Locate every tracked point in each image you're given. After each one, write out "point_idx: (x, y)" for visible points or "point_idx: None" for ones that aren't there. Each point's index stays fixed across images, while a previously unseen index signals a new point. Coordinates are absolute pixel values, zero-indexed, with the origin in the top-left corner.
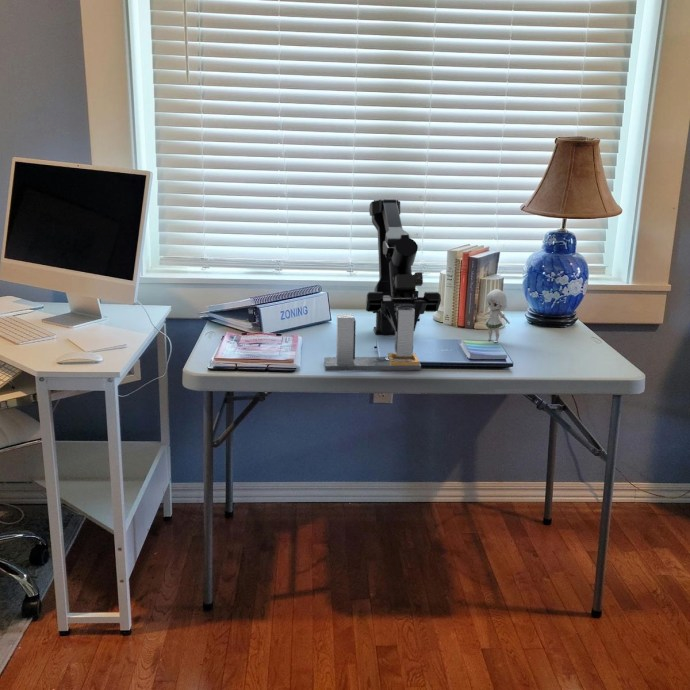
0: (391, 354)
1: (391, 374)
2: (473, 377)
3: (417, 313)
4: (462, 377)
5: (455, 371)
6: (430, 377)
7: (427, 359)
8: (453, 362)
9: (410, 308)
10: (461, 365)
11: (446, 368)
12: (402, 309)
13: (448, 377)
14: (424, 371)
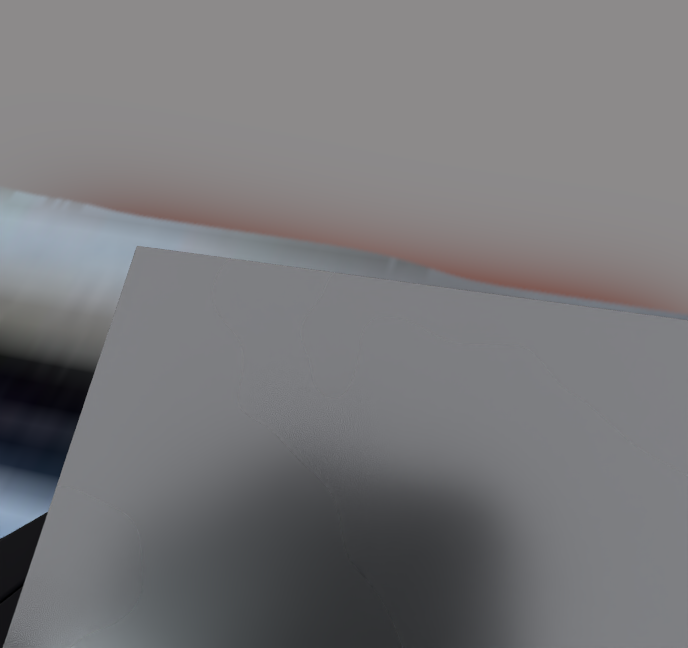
0: None
1: None
2: (60, 211)
3: (14, 560)
4: (114, 219)
5: (99, 316)
6: (281, 244)
7: None
8: (17, 490)
9: (167, 517)
10: (4, 418)
11: None
12: (522, 416)
13: (185, 230)
14: None
